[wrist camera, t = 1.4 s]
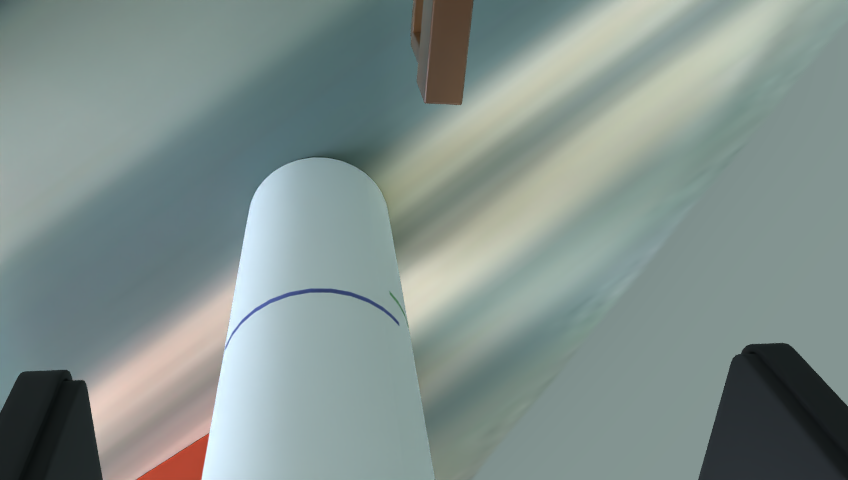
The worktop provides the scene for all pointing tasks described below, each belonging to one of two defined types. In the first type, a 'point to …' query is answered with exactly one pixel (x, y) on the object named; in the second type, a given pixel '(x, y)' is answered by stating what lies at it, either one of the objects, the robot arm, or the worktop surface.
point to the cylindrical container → (318, 339)
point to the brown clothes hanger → (441, 48)
